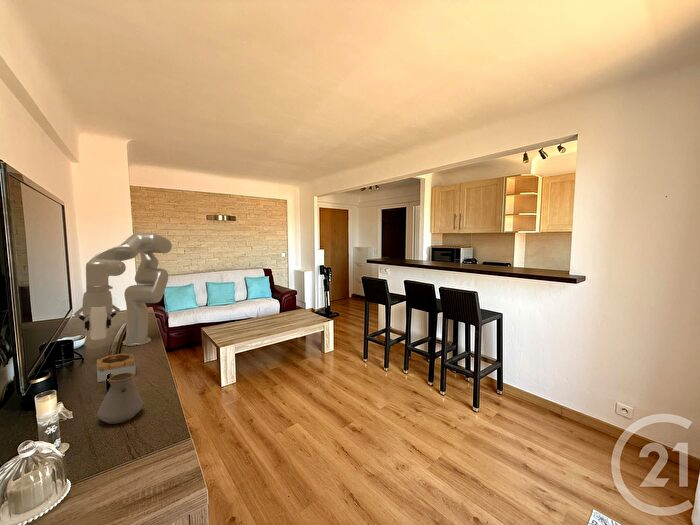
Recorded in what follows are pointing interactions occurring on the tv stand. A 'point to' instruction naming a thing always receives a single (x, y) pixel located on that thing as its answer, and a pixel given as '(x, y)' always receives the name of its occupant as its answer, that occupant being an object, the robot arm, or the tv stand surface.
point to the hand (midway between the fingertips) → (98, 328)
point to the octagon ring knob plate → (115, 365)
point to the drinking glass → (98, 323)
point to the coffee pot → (120, 400)
